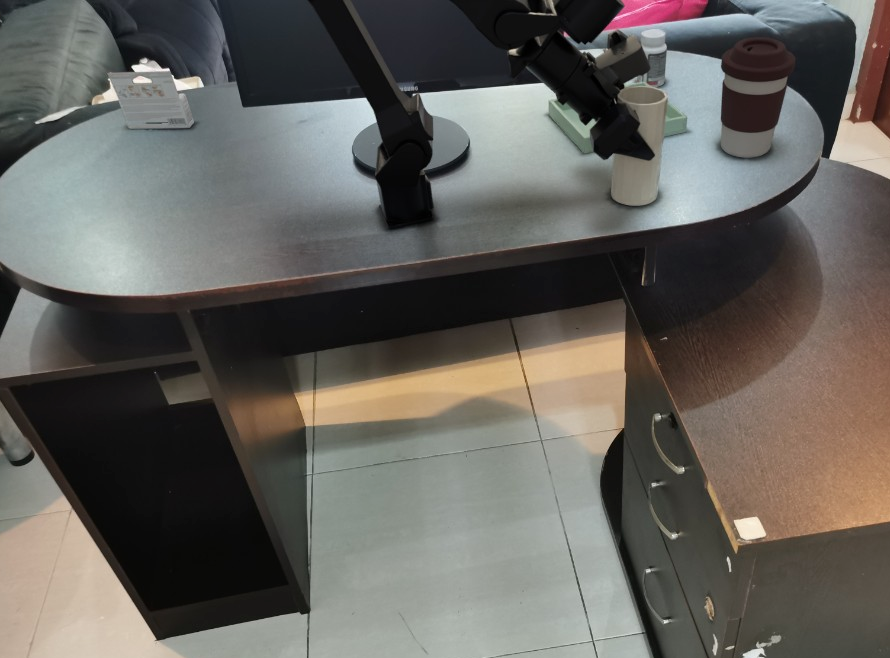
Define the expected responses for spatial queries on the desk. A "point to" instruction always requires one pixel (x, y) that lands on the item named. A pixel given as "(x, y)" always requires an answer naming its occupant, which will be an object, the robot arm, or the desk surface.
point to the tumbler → (638, 176)
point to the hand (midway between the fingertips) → (647, 146)
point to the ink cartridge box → (151, 100)
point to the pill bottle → (654, 56)
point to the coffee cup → (753, 94)
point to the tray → (581, 133)
